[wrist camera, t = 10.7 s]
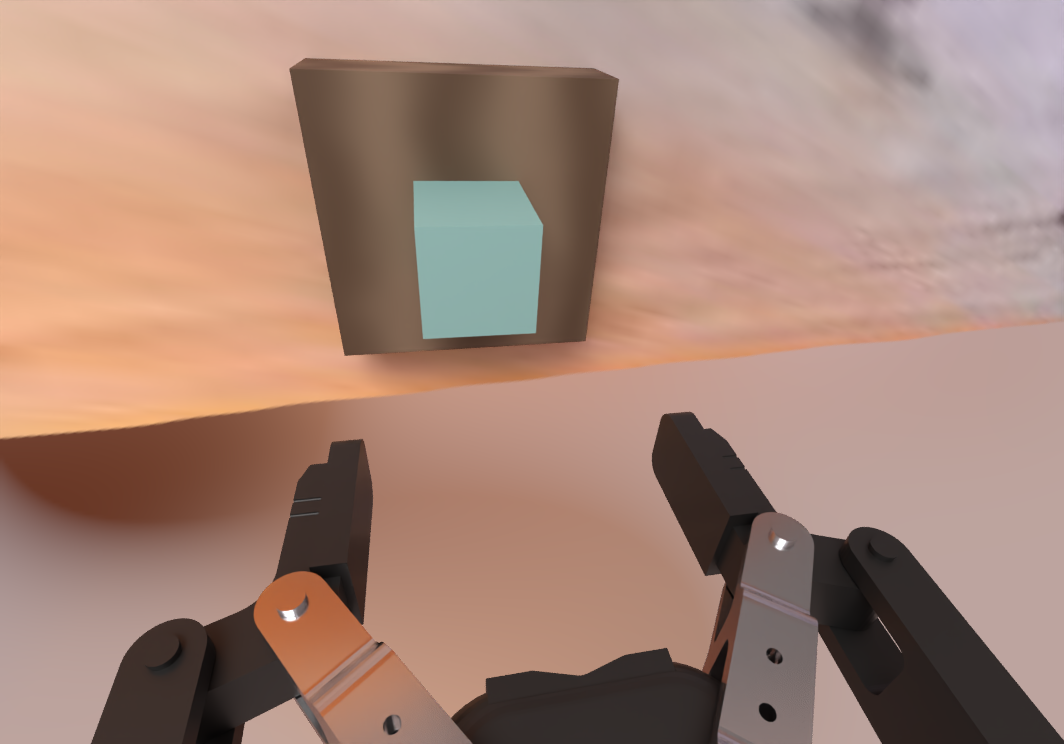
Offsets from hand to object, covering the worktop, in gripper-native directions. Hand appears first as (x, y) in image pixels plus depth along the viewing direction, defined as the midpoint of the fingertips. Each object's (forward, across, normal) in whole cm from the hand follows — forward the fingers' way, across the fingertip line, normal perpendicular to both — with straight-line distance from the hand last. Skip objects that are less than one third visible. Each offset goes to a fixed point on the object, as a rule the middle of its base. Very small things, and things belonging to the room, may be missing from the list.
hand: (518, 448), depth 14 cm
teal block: (+16, 0, 0) cm, 16 cm away
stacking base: (+20, 0, 0) cm, 20 cm away
